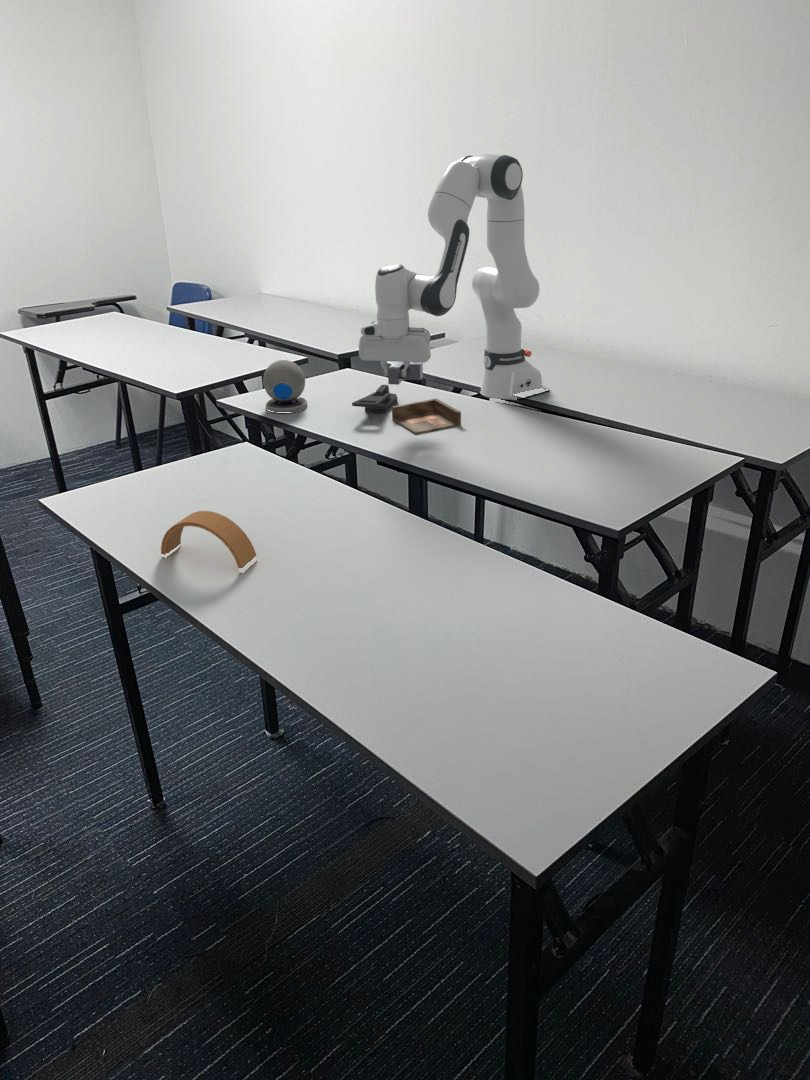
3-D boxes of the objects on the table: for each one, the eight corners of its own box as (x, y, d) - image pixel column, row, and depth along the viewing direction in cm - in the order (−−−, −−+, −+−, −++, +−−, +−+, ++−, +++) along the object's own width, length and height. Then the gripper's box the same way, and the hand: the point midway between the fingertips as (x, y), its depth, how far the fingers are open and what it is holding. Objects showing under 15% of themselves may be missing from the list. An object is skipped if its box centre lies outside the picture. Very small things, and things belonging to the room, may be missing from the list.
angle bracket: (396, 375, 237) (395, 360, 235) (422, 377, 235) (422, 361, 233) (388, 384, 230) (387, 368, 228) (415, 385, 228) (415, 369, 226)
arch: (178, 546, 176) (171, 504, 172) (257, 561, 169) (252, 518, 164) (161, 558, 171) (153, 515, 167) (242, 574, 164) (235, 530, 160)
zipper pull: (349, 403, 239) (372, 378, 261) (350, 424, 243) (373, 398, 264) (378, 404, 237) (399, 379, 259) (379, 426, 241) (400, 400, 262)
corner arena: (436, 411, 251) (436, 398, 249) (460, 425, 239) (460, 411, 237) (392, 419, 245) (391, 406, 243) (415, 434, 233) (414, 420, 231)
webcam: (308, 400, 264) (304, 354, 257) (305, 413, 253) (301, 365, 246) (268, 402, 264) (263, 356, 257) (263, 415, 252) (258, 367, 245)
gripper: (432, 325, 225) (434, 374, 231) (362, 323, 230) (365, 371, 236) (427, 330, 219) (428, 380, 226) (355, 329, 225) (358, 378, 231)
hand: (395, 376), depth 231 cm, fingers closed on angle bracket, 3 cm apart
